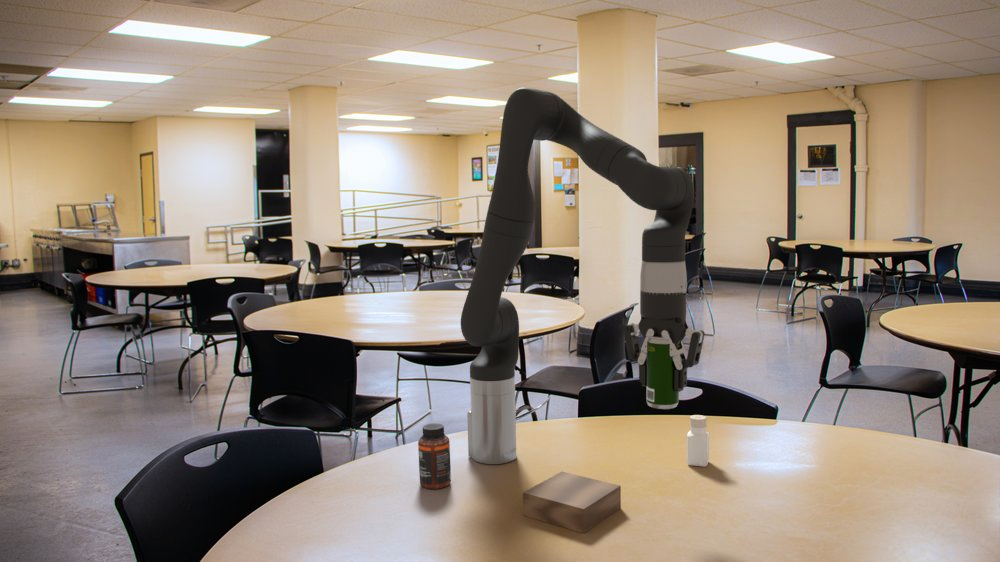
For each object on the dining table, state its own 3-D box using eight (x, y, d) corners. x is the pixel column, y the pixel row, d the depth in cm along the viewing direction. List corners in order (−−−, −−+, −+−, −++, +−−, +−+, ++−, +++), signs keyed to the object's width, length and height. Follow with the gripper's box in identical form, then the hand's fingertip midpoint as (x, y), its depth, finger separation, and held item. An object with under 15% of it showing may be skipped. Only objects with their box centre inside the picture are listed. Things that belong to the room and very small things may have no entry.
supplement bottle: (456, 481, 144) (455, 423, 142) (441, 492, 138) (439, 432, 137) (429, 476, 146) (427, 420, 145) (413, 487, 141) (411, 428, 140)
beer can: (662, 411, 123) (663, 339, 122) (639, 404, 128) (639, 334, 126) (685, 405, 126) (686, 335, 125) (662, 399, 131) (662, 330, 129)
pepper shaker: (686, 465, 149) (686, 419, 148) (689, 459, 153) (689, 413, 152) (707, 468, 147) (707, 420, 146) (709, 461, 151) (709, 415, 150)
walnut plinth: (523, 515, 127) (522, 492, 127) (562, 492, 137) (561, 471, 136) (584, 533, 120) (583, 509, 119) (620, 508, 129) (620, 485, 129)
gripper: (613, 288, 126) (614, 386, 128) (695, 293, 117) (693, 399, 119) (635, 283, 132) (634, 378, 134) (713, 288, 123) (712, 389, 125)
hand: (662, 387), depth 127 cm, fingers closed on beer can, 5 cm apart
